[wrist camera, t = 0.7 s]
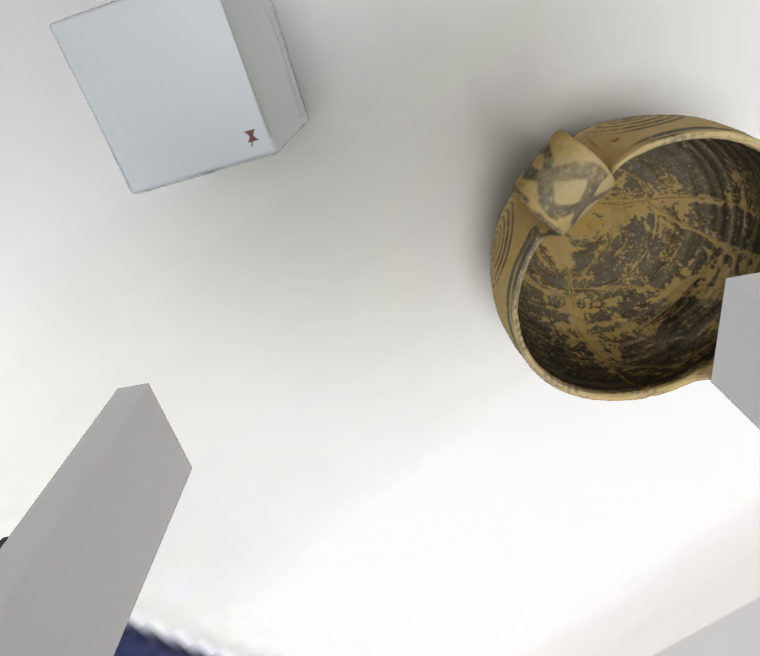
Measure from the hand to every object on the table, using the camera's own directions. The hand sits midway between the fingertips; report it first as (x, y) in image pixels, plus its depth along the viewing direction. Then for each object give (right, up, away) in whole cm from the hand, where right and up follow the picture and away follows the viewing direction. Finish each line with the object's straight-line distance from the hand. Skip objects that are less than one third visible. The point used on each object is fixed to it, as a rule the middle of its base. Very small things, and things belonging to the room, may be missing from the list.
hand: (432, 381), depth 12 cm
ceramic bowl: (+14, +9, +26) cm, 31 cm away
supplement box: (-10, +17, +21) cm, 29 cm away
